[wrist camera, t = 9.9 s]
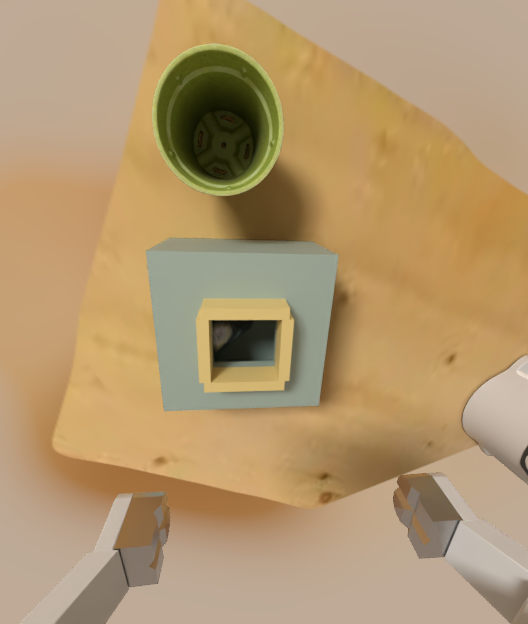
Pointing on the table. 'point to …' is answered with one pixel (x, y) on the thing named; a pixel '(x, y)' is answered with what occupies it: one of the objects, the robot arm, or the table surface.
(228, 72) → the plant pot
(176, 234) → the table surface
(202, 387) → the box with square opening
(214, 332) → the cylinder
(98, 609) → the robot arm
